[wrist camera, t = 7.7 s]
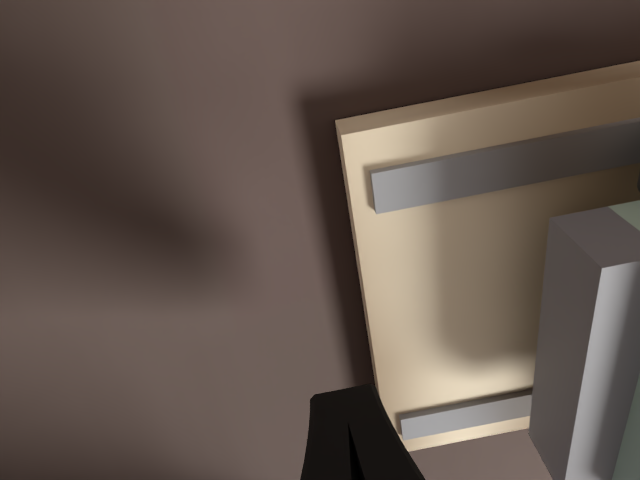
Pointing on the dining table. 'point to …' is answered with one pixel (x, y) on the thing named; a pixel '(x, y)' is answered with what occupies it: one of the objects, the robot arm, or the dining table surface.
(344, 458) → the robot arm
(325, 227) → the dining table surface
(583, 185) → the track board
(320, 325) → the dining table surface
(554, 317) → the cart
